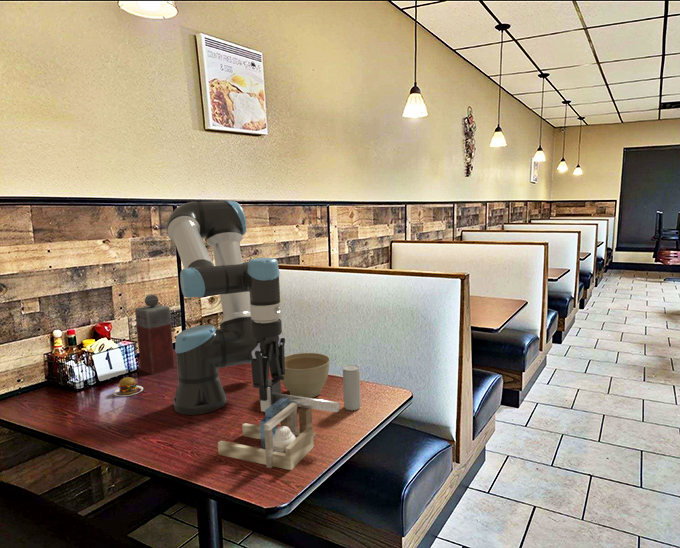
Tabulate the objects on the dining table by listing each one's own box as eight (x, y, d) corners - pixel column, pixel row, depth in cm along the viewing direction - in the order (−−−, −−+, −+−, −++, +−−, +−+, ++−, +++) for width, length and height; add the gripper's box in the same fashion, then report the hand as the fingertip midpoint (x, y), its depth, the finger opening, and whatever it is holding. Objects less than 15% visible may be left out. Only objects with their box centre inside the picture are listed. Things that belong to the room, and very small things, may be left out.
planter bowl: (290, 382, 161) (288, 351, 160) (336, 386, 157) (335, 353, 155) (270, 401, 146) (269, 367, 144) (321, 406, 141) (320, 370, 140)
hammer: (239, 448, 116) (236, 397, 115) (269, 425, 129) (267, 378, 127) (318, 465, 108) (315, 410, 106) (341, 438, 120) (340, 388, 119)
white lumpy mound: (290, 462, 111) (288, 434, 110) (266, 458, 113) (264, 430, 112) (301, 449, 116) (300, 422, 115) (278, 446, 118) (277, 419, 117)
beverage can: (359, 411, 137) (358, 371, 135) (342, 410, 138) (341, 370, 136) (361, 404, 141) (360, 365, 140) (345, 404, 142) (344, 364, 141)
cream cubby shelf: (277, 436, 123) (276, 407, 122) (285, 430, 127) (284, 401, 126) (308, 442, 120) (307, 412, 119) (316, 435, 123) (314, 405, 122)
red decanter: (159, 362, 188) (153, 291, 184) (175, 367, 181) (168, 293, 177) (137, 368, 181) (130, 295, 177) (152, 374, 174) (145, 297, 170)
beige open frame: (216, 456, 115) (213, 415, 113) (247, 432, 126) (245, 395, 125) (289, 472, 107) (287, 428, 105) (315, 445, 118) (313, 406, 117)
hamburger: (148, 384, 165) (147, 369, 165) (148, 397, 154) (146, 380, 154) (110, 390, 161) (108, 374, 161) (106, 403, 150) (104, 386, 149)
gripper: (259, 328, 113) (265, 423, 116) (296, 313, 128) (300, 397, 131) (233, 326, 116) (239, 419, 119) (271, 311, 131) (276, 393, 134)
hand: (271, 407), depth 125 cm, fingers closed on hammer, 4 cm apart
